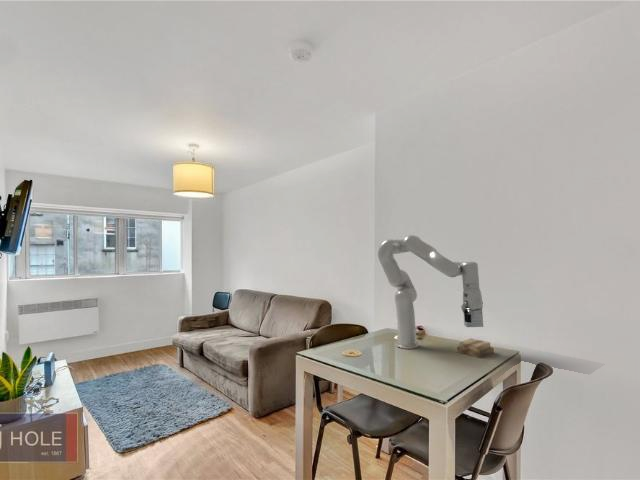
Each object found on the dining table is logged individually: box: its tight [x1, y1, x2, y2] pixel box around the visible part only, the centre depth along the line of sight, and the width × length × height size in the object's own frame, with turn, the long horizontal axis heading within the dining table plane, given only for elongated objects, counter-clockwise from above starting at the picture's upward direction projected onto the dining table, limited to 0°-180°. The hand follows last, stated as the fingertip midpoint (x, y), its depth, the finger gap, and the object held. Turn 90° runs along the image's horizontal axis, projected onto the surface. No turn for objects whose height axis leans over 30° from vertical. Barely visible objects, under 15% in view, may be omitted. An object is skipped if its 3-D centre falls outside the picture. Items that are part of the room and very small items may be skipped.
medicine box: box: [463, 309, 484, 328], centre depth 162 cm, size 8×4×9 cm, turn 84°
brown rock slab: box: [456, 338, 495, 359], centre depth 161 cm, size 12×12×5 cm
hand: (473, 320), depth 161 cm, fingers closed on medicine box, 8 cm apart
